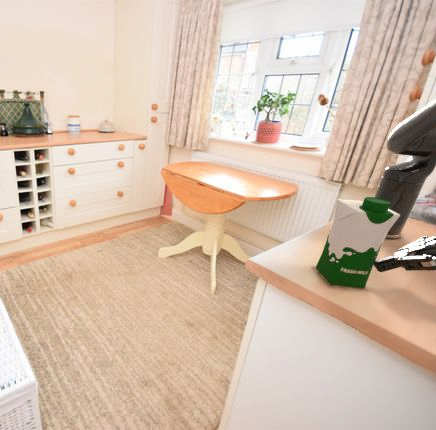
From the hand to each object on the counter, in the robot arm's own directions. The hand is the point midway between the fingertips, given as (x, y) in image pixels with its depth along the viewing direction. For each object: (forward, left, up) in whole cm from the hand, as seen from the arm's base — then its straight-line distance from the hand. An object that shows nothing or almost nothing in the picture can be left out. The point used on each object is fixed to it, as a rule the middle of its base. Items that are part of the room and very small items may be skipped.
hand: (376, 266), depth 62 cm
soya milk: (0, -5, -6) cm, 8 cm away
